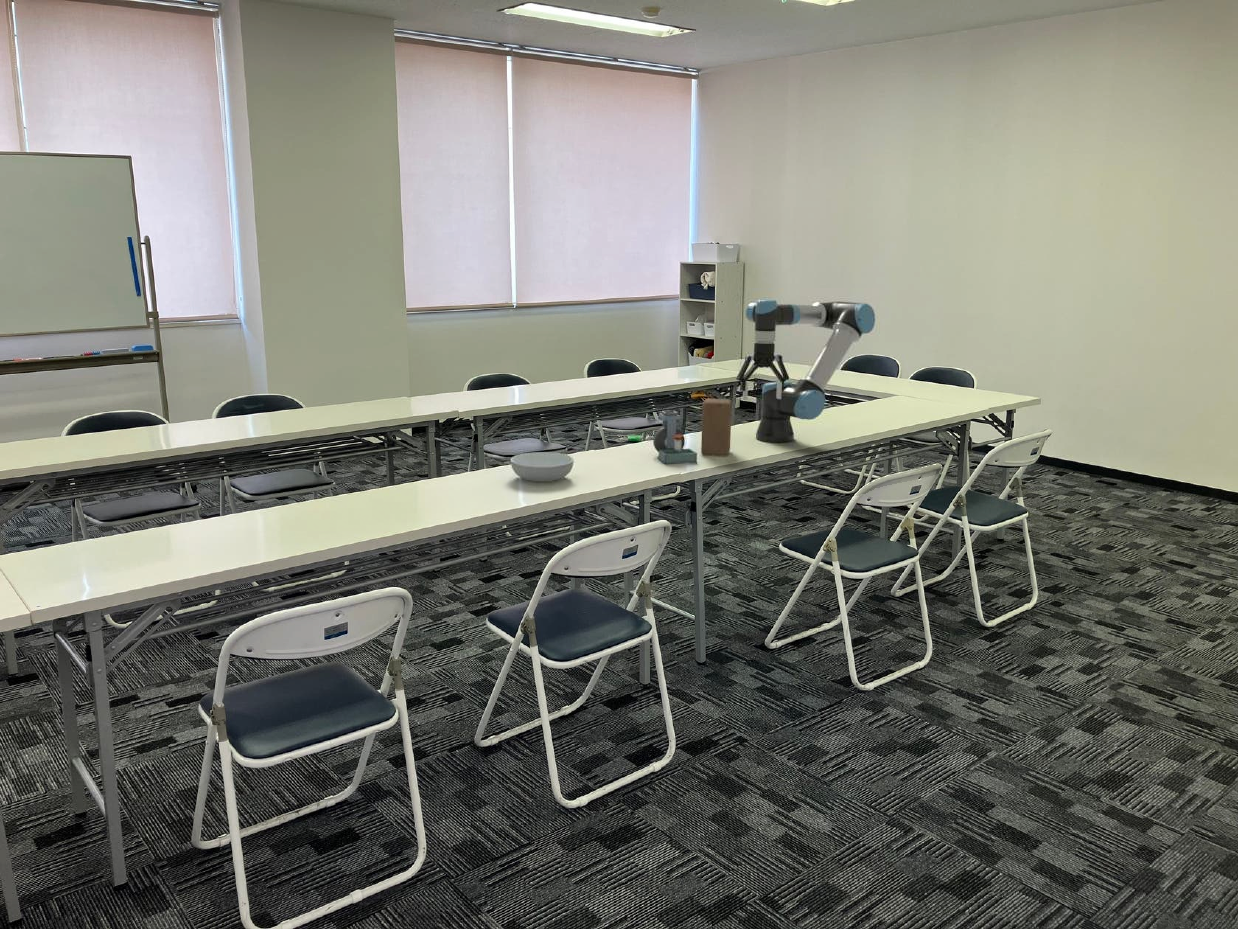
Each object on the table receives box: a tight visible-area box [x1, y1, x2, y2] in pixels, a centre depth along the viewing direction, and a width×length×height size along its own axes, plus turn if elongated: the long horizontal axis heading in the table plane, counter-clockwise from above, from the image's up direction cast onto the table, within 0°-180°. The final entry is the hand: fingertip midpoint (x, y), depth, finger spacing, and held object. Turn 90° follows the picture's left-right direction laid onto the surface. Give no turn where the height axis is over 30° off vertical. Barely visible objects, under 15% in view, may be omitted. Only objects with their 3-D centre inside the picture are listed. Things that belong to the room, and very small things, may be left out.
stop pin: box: [673, 434, 684, 454], centre depth 334 cm, size 3×3×9 cm
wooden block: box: [700, 398, 733, 457], centre depth 346 cm, size 10×10×20 cm
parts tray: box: [658, 448, 698, 465], centre depth 335 cm, size 12×8×4 cm, turn 105°
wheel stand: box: [652, 410, 686, 453], centre depth 341 cm, size 11×6×16 cm, turn 105°
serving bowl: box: [510, 451, 575, 483], centre depth 308 cm, size 21×21×7 cm
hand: (761, 399), depth 348 cm, fingers open, 13 cm apart
